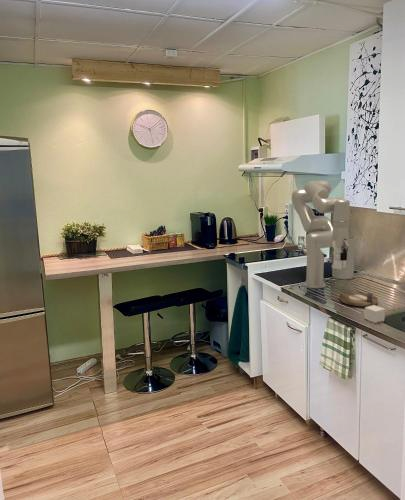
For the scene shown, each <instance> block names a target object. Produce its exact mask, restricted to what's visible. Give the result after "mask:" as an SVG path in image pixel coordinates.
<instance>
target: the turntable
mask: <svg viewBox="0 0 405 500" xmlns="http://www.w3.org/2000/svg"><path fill="white" fill-rule="evenodd" d="M373 294H374V293H372V292H359V291H348V292H346V291H345V292H343V293H341V294H340V295H339V301H340V302H342V303H343V304H346V305H348V306H349V305H350V306H354V307H369V306H372V305H375V306H376V305H377V304H378V297H377V296H375V295H373Z"/></svg>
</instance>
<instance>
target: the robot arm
mask: <svg viewBox="0 0 405 500" xmlns="http://www.w3.org/2000/svg"><path fill="white" fill-rule="evenodd" d="M331 190H332V186H331V184H330V182H329V181H327V180H324V179H323V180H321V179H320V180H310V181H307V182H306V183H305V185H304V187H303V188H298V189H296V190H294V191H293V192H292V194H291V203H292V206H293V208H294V210H295V212H296V213H297V215H298V217H299V220H300V222H301V225H302V228H303V230H304V231H305V232H306V233H307V234H306V236H305V245H306V271H305V272H306V276H305V278H306V279H305V281H303V282H302V283H303V286H304V287H305V288H309V289H323V288H326V286H327V283H326V282H324V272H325V271H324V269H325V267H324V266H325V256H324V253H323V251H322V250H321V249H324V248H325V249H326V248H333V241H334V240H335V241H336V247H338V248H341V252H342V253H341V255H340V260H341V261H344V260H347V252H348V248H349V244H348V242H349V236H350V235H349V228H350V209H351V208H350V207H351V204H350V201H349V199H344V198H341V197H331V198H329V196H330V195H329V194H330V193H331ZM308 204H312V206H313V209H315V211H316V212H318V213H320V214H333V218H332V221H331V219H330V218H329V217H328V216H325V215H315V213H314V211H313V209H312V208H311V207H310V206H309V205H308ZM343 243H344V245H345V246H342V245H343ZM343 248H344V249H343Z"/></svg>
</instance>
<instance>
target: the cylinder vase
mask: <svg viewBox="0 0 405 500" xmlns="http://www.w3.org/2000/svg"><path fill="white" fill-rule="evenodd" d="M348 244H349V248H348V252H347V267H346V268H344V269H335V268H331V269H332V271H331V272H332V274H331V275H332V276H331V277H333V278H334V279H337V280H344V281H345V280H352V279H353V278H354V275H355V274H354V272H355V259H356V258H355V255H356V254H355V253H356V236H352V235H349V242H348Z"/></svg>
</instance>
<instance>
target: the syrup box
mask: <svg viewBox="0 0 405 500" xmlns="http://www.w3.org/2000/svg"><path fill="white" fill-rule="evenodd" d="M342 246H345V245H344V243H343V245H342ZM331 248H332V249H331V250H332V251H331V266H330V267H331V269H332V268H335V269H344V268H346V267H347V260H344V261H341V260H340V255H341V253H342V252H341V248H338V247H336V241H335V240H334V241H333V247H331ZM343 249H344V248H343Z"/></svg>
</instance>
